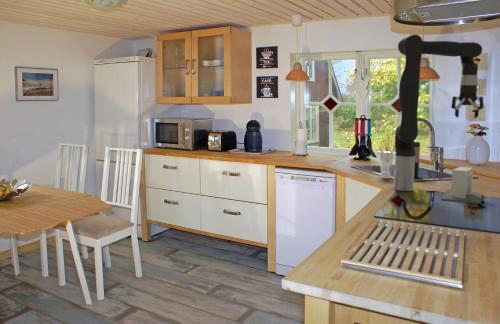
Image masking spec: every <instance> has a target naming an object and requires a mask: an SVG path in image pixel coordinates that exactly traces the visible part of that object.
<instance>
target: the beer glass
mask: <svg viewBox="0 0 500 324" xmlns="http://www.w3.org/2000/svg"><path fill="white" fill-rule="evenodd" d="M393 156H394V155H393V151H386V150H384V151H380V156H379V165H380V174H379V178H380V179H386V180H387V179H388V180H389V179H391V178H392V174H391V171H392V166H393V159H394V157H393Z"/></svg>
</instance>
